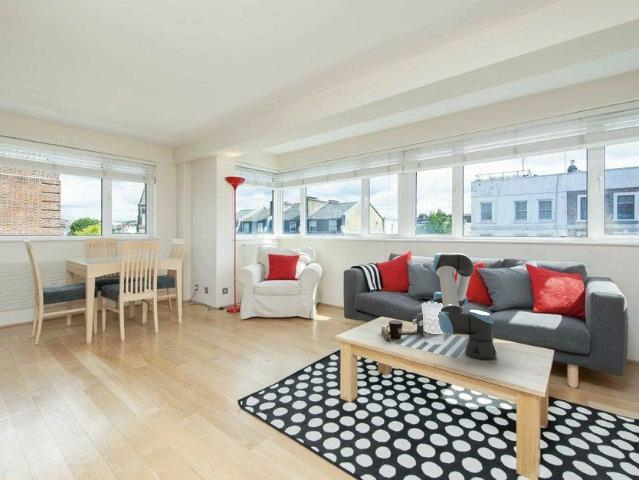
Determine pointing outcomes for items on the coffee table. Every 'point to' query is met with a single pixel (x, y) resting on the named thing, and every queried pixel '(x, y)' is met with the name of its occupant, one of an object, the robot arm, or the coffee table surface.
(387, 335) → the brown uneven shapes
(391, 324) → the coffee mug
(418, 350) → the coffee table surface
